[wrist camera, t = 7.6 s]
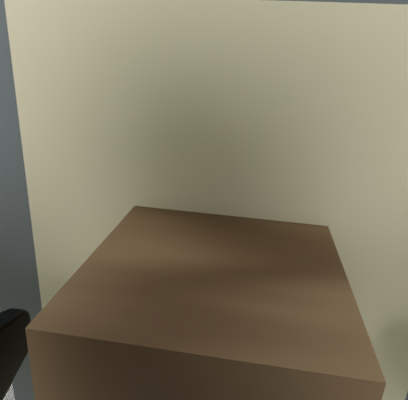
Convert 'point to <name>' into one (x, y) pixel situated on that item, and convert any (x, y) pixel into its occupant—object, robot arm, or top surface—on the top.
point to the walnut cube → (205, 316)
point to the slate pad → (206, 136)
